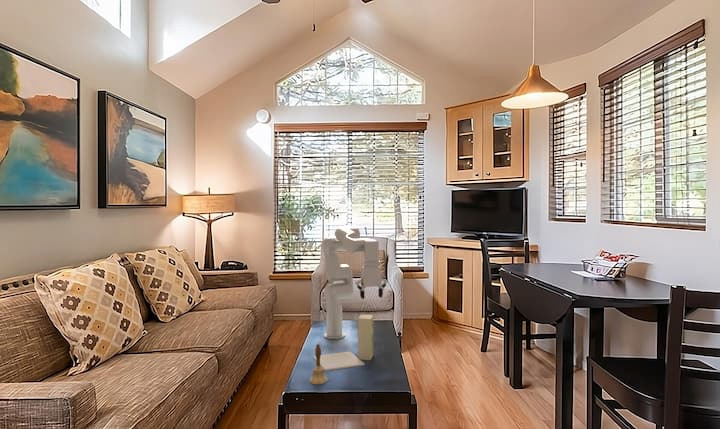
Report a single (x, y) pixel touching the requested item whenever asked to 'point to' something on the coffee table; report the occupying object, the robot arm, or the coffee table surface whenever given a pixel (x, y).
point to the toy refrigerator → (365, 337)
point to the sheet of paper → (339, 361)
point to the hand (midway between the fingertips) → (371, 297)
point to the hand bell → (318, 369)
